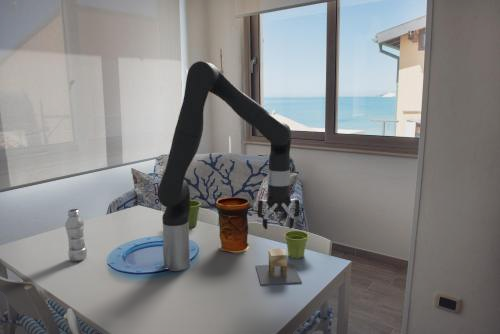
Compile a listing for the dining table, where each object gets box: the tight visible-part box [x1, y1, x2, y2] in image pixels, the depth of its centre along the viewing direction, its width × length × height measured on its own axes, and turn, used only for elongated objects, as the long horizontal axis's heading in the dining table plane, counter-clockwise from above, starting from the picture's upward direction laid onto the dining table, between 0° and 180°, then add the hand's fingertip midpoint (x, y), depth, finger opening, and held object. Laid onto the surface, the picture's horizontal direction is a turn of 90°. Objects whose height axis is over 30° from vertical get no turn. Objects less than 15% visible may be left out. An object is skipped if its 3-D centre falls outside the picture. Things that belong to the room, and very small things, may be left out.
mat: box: [255, 263, 303, 286], centre depth 133 cm, size 14×14×1 cm
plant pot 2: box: [283, 230, 310, 259], centre depth 148 cm, size 9×9×9 cm
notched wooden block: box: [268, 248, 288, 277], centre depth 132 cm, size 6×6×8 cm
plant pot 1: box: [188, 199, 202, 229], centre depth 182 cm, size 12×12×11 cm
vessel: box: [215, 196, 251, 254], centre depth 156 cm, size 14×14×20 cm
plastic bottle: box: [64, 208, 88, 262], centre depth 144 cm, size 6×7×20 cm
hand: (278, 228), depth 130 cm, fingers open, 8 cm apart
